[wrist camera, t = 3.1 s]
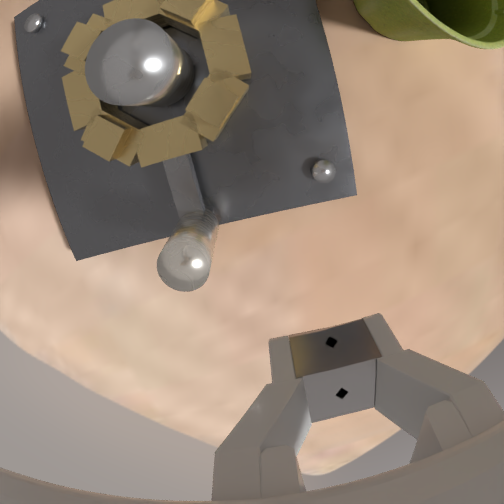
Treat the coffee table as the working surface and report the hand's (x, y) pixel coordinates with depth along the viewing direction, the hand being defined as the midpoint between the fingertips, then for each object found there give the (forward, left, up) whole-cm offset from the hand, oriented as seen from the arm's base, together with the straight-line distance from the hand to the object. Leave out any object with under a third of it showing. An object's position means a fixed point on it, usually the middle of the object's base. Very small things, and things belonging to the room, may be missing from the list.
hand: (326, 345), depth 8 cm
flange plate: (-10, -5, -14) cm, 18 cm away
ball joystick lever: (-7, -5, -12) cm, 15 cm away
